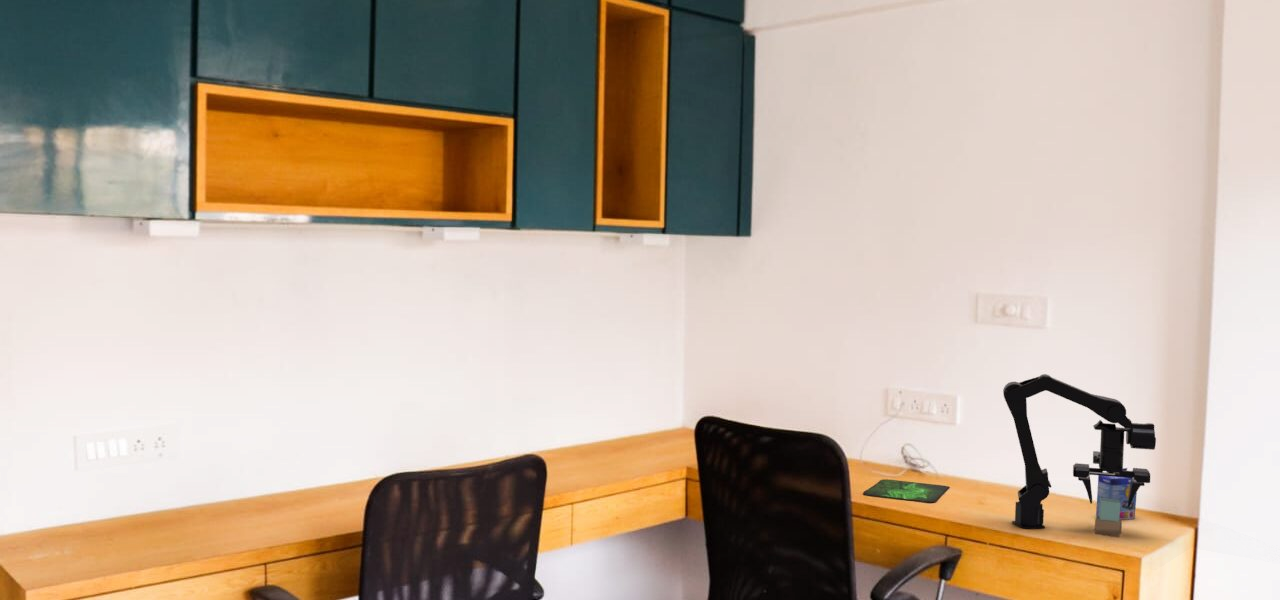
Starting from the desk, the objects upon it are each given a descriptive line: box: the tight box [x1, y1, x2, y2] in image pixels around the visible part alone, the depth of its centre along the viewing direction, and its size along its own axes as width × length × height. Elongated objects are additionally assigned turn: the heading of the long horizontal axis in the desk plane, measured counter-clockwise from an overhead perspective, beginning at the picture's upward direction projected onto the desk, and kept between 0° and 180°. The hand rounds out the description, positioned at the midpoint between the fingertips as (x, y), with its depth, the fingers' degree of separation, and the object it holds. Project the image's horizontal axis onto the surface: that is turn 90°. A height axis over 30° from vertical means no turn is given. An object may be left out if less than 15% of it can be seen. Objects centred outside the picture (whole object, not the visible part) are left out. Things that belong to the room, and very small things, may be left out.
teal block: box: [1099, 498, 1120, 522], centre depth 292 cm, size 5×5×5 cm
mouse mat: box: [862, 478, 951, 504], centre depth 339 cm, size 27×22×1 cm
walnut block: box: [1094, 515, 1123, 538], centre depth 293 cm, size 6×6×4 cm
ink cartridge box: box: [1095, 467, 1138, 521], centre depth 309 cm, size 10×6×14 cm, turn 111°
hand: (1109, 505), depth 292 cm, fingers open, 9 cm apart
